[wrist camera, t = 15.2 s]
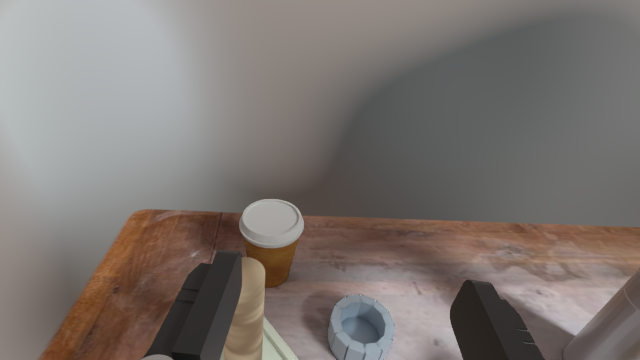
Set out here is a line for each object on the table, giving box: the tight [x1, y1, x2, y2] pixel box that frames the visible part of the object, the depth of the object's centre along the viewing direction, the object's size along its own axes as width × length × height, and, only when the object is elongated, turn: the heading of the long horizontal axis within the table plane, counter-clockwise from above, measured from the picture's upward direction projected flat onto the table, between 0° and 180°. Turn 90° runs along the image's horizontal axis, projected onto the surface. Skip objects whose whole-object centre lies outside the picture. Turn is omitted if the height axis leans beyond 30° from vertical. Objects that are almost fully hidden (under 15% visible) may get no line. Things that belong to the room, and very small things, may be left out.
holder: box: [327, 294, 395, 360], centre depth 42 cm, size 8×8×4 cm
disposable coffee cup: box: [239, 199, 304, 288], centre depth 48 cm, size 10×10×12 cm
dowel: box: [224, 257, 265, 360], centre depth 32 cm, size 4×4×18 cm
